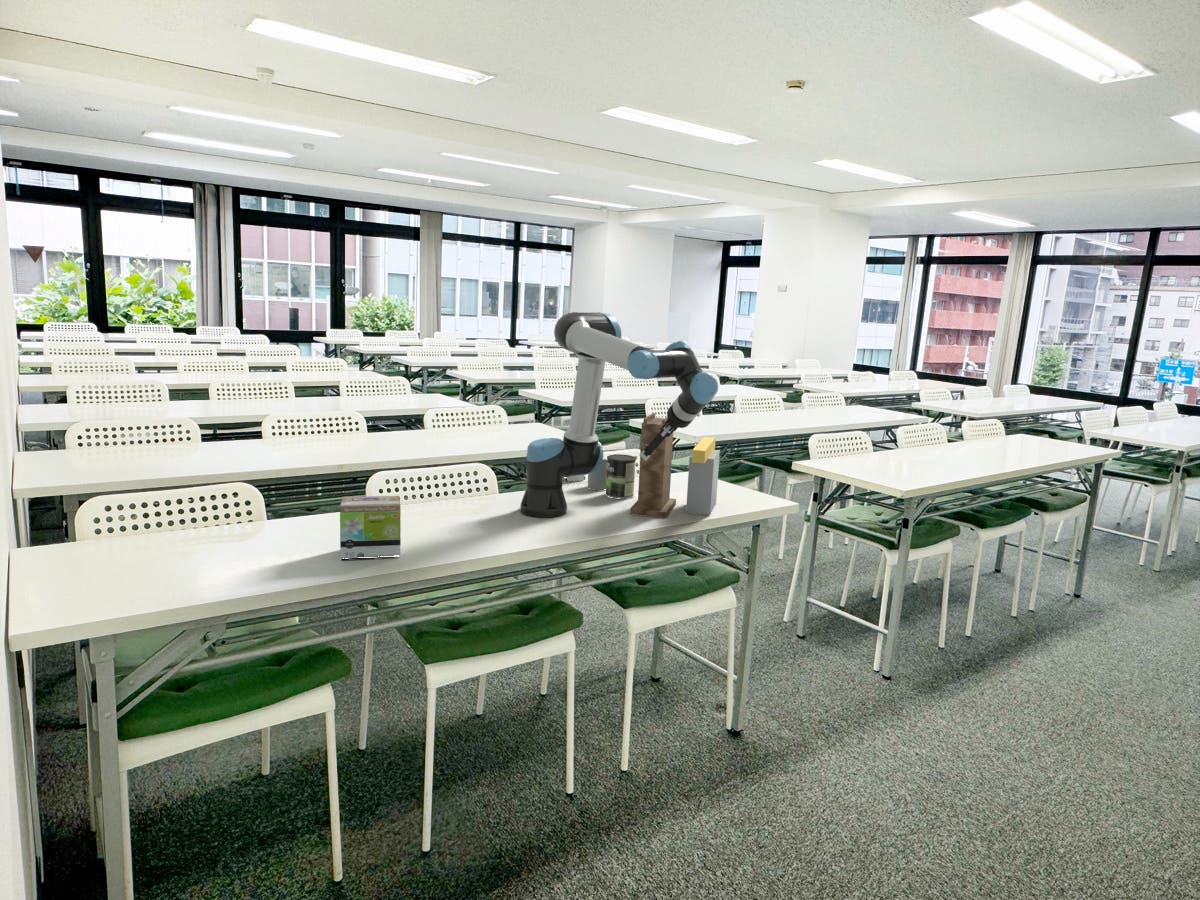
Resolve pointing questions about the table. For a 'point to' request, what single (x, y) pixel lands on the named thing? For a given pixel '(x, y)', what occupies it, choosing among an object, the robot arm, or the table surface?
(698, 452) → the block
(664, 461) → the stand
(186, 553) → the table surface
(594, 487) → the cup
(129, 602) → the table surface
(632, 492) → the coffee can
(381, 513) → the tea box
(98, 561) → the table surface
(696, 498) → the grey slab
